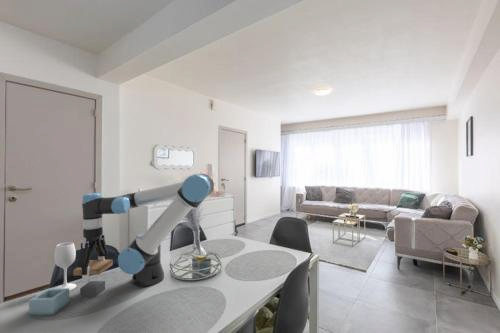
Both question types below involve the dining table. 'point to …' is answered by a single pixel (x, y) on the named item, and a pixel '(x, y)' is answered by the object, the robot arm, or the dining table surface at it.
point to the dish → (49, 301)
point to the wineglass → (65, 260)
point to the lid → (95, 267)
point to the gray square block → (92, 289)
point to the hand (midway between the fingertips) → (94, 275)
